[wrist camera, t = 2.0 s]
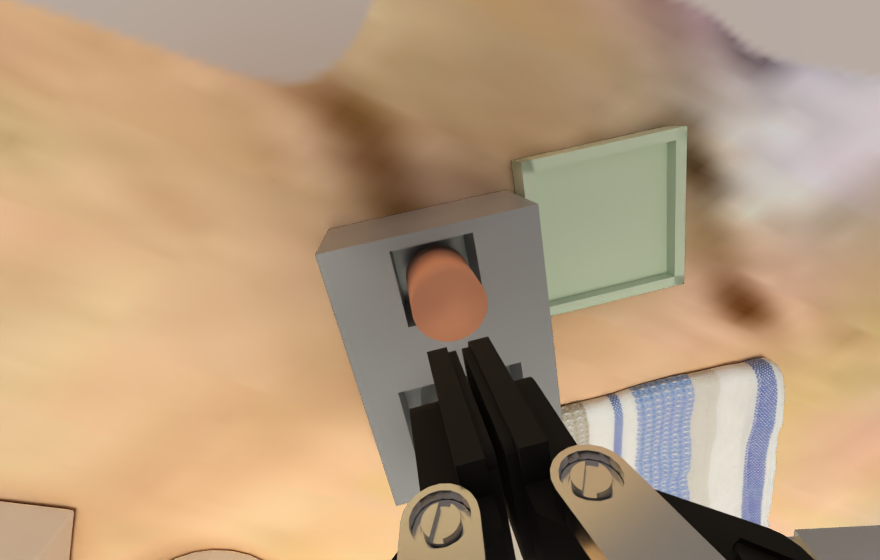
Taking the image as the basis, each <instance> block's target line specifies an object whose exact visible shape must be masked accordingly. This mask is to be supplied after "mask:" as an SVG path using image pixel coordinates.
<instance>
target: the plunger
mask: <svg viewBox="0 0 880 560" xmlns="http://www.w3.org/2000/svg"><path fill="white" fill-rule="evenodd" d="M406 282H407V288H408V293H409V299H410V304H411V310H412V316H413V319H414V322H415V324H416V325H417V327H418V328H419V330H420V331H421V332H422V333H424V334H425V335H426V336H428V337H430V338H432V339H434V340H437V341H443V342H451V341H457V340H460V339H463V338H465V337H467V336H469V335H471V334H472V333H473V332H474V331H476V330H477V329H478V327H479V326H480V325H481V324H482V322H483V320H484V318H485V316H486V313H487V308H488V301H487V295H486V292H485V290H484V288H483V286H482V285H481V283H480V282H479V280H478V279H477V277H476V276H475V274H474V273H473V271H472V270H471V268H470V267H469V265H468V264H467V262H466V261H465V259H464V258H463V257H462V255H461V254H460V253H459V252H457V251H456V250H454V249H453V248H450V247H448V246H443V245H434V246H429V247H426V248H424V249H422V250H421V251H419V252H418V253H417V254H415V255H414V257H413V258H412V259H411V261H410V262H409V264H408V267H407V271H406Z"/></svg>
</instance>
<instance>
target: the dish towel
mask: <svg viewBox="0 0 880 560" xmlns="http://www.w3.org/2000/svg"><path fill="white" fill-rule="evenodd" d="M784 397H785V394H784V380H783V375H782V372H781V370H780V368H779V367H778V365H777V364H775V363H774V362H772V361H771V360H770V359H768V358H756V359H751V360H747V361H745V362H741V363H737V364H730V365H724V366H720V367H715V368H711V369H707V370H702V371H698V372H693V373H689V374H680V375H677V376H673V377H668V378H664V379H659V380H656V381H651V382H647V383H644V384H640V385H637V386H635V387H631V388H627V389H624V390H621V391H619V392H616V393H613V394H610V395H606V396H602V397H598V398H594V399H590V400H586V401H581V402H576V403H572V404H568V405H565V406H561V415H562V422H563V424H564V425H565V427H566V428H567V430H568V431H569V433H570V434H571V436H572V437H573V439H574V440H575V442H576V443H577V445H586V444H591V445H596V446H601V447H604V448H606V449H609V450H611V451H613V452H615V453H616V454H617V455H619V456H620V457H621V458H623V459H624V460H625V461H626V462H627V463H628V464H629V465H630V466H631V467H632V468H633V469H634V470H635V471H636V472H637V473H638V474H639V475H640V476H641V477H642V478H643V479H644V480H645V481H646V482H647V483H648V484H649V485H650V486H652V487H653V488H654V489H656V490H659V491H661V492H664V493H667V494H670V495H673V496H676V497H679V498H682V499H685V500H688V501H691V502H694V503H697V504H700V505H703V506H706V507H709V508H712V509H715V510H717V511H720V512H723V513H726V514H729V515H732V516H735V517H738V518H741V519H744V520H747V521H750V522H753V523H756V524H759V525H762V526H765V527H767V528H768V527H769V521H768V515H769V512H770V507H771V499H772V491H773V485H774V473H775V471H776V448H777V440H778V433H779V430H780V428H781V426H782V423H783V411H784Z"/></svg>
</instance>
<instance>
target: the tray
mask: <svg viewBox="0 0 880 560" xmlns="http://www.w3.org/2000/svg"><path fill="white" fill-rule="evenodd" d="M686 160H687V126H665V127H661V128H656V129H652V130H647V131H642V132H638V133H633V134H629V135H624V136H620V137H615V138H611V139H606V140H602V141H597V142H592V143H588V144H583V145H579V146H574V147H570V148H565V149H561V150H556V151H552V152H547V153H542V154H538V155H533V156H529V157H524V158H520V159H515V160H511V164H512V172H513V179H514V187H515V194H517V195H519V196H521V197H523V198H526V199H528V200H530V201H532V202H535V203H537V204H538V206H539V215H540V224H541V233H542V242H543V252H544V261H545V270H546V279H547V288H548V297H549V306H550V315H551V316H554V315H558V314H562V313H566V312H570V311H574V310H578V309H582V308H586V307H590V306H595V305H599V304H603V303H607V302H611V301H615V300H619V299H623V298H627V297H631V296H635V295H639V294H644V293H648V292H652V291H656V290H660V289H664V288H668V287H672V286H676V285H680V284H684V258H685V209H686Z"/></svg>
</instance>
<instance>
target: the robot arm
mask: <svg viewBox="0 0 880 560" xmlns="http://www.w3.org/2000/svg"><path fill="white" fill-rule="evenodd" d="M427 355H428V360H429V364H430V368H431V372H432V376H433V380H434V385H435V389H436V393H437V397H438V401H436V402H433V403H429V404H425V405H421V406H418V407H414V408H410V409H409V411H410V419H411V427H412V434H413V442H414V449H415V457H416V464H417V472H418V479H419V487H420V492H419V493H417V494H416V495H415V496H414V497H413V498H412V499H411V500H410V501H409V503H408V504H407V506H406V508H405V509H404V511H403V514H402V518H401V522H400V531H399V543H398V552H397V553H396V555H395V556H394V557H393V559H392V560H516V557H515V552H514V546H513V541H512V536H511V531H510V525H511V527H512V530H513V533H514V536H515V539H516V542H517V544H518V547H519V550H520V553H521V556H522V558H523V560H880V525H877V526H857V527H838V528H818V529H798V530H795V531H794V537H786V536H784V535H783V534H781V533H778V532H776V531H774V530H772V529H769V528H767V527H765V526H762V525H759V524H756V523H753V522H750V521H747V520H744V519H741V518H738V517H735V516H732V515H729V514H726V513H723V512H720V511H717V510H715V509H712V508H709V507H706V506H703V505H700V504H697V503H694V502H691V501H688V500H685V499H682V498H679V497H676V496H673V495H670V494H667V493H664V492H661V491H659V490H656V489H654V488H653V487H652V486H650V485H649V484H648V483H647V482H646V481H645V480H644V479H643V478H642V477H641V476H640V475H639V474H638V473H637V472H636V471H635V470H634V469H633V468H632V467H631V466H630V465H629V464H628V463H627V462H626V461H625V460H624V459H623V458H621V457H620V456H619V455H617V454H616V453H615V452H613V451H611V450H609V449H606V448H604V447H601V446H596V445H591V444H586V445H577V443H576V442H575V440H574V439H573V437H572V436H571V434H570V433H569V431H568V430H567V428H566V427H565V425H564V424H563V422H562V421H561V419H560V418H559V416H558V415H557V413H556V412H555V410H554V408H553V407H552V405H551V404H550V402H549V401H548V399H547V398H546V396H545V395H544V393H543V392H542V390H541V389H540V387H539V386H538V384H537V383H536V381H535V380H534V379H533V378H532V377H527V378H523V379H519V380H516V381H514V380H513V379H512V377H511V375H510V373H509V372H508V370H507V368H506V366H505V365H504V363H503V361H502V359H501V358H500V356H499V354H498V353H497V351H496V349H495V347H494V346H493V344H492V342H491V340H490V339H489V337H483V338H480V339H476V340H472V341H468V347H466V348H462V355H463V360H464V365H465V369H466V374H467V378H466V376H465V373H464V370H463V368H462V365H461V363H460V360H459V357H458V355H457V352H456V350H455V351H451V352H448V350H447V347H444V348H440V349H436V350H433V351H429V352H427ZM467 379H468V381H467ZM508 519H509V520H508ZM509 522H510V525H509Z"/></svg>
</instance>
